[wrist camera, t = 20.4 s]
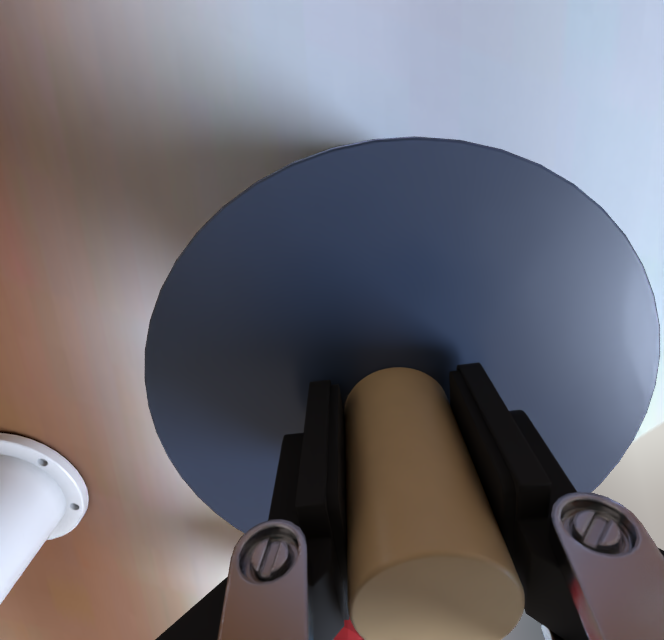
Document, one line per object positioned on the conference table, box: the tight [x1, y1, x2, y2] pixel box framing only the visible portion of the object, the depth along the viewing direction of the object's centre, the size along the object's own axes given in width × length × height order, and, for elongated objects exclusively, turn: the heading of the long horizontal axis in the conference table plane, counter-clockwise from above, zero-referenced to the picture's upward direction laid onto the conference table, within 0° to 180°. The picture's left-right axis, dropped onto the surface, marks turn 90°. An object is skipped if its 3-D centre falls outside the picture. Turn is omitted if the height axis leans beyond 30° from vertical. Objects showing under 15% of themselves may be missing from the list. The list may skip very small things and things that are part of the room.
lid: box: [145, 137, 660, 640], centre depth 9 cm, size 14×14×6 cm
